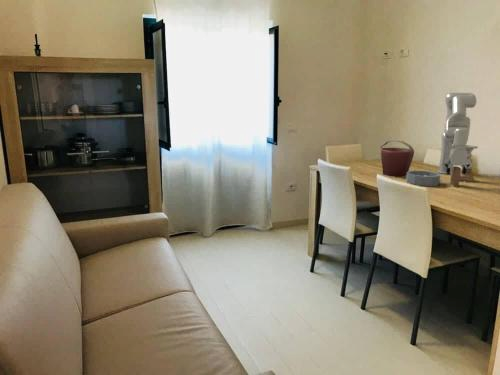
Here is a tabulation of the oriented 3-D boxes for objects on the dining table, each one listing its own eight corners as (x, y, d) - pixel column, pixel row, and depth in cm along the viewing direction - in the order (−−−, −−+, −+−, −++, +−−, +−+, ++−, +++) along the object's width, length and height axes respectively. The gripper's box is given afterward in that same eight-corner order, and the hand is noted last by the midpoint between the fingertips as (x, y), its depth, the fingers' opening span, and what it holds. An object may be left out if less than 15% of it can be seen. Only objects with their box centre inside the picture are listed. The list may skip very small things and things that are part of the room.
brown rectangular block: (450, 184, 259) (452, 166, 256) (454, 184, 258) (457, 166, 256) (453, 186, 253) (456, 168, 250) (458, 186, 253) (461, 168, 250)
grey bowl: (402, 179, 272) (403, 170, 271) (432, 180, 270) (433, 170, 269) (411, 185, 253) (412, 176, 251) (443, 186, 251) (444, 177, 249)
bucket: (371, 172, 294) (374, 139, 288) (392, 170, 304) (395, 138, 298) (397, 179, 273) (400, 143, 267) (419, 176, 283) (422, 141, 277)
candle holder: (473, 179, 272) (478, 145, 266) (473, 182, 263) (478, 147, 257) (456, 178, 277) (460, 144, 272) (455, 181, 268) (459, 146, 262)
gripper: (470, 147, 253) (467, 173, 256) (443, 146, 254) (439, 172, 258) (476, 148, 245) (472, 175, 249) (447, 148, 247) (444, 174, 251)
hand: (455, 173), depth 254 cm, fingers open, 9 cm apart
